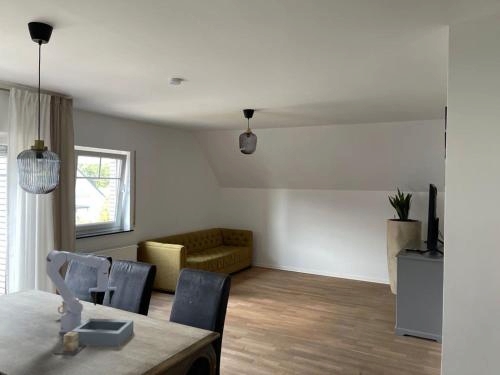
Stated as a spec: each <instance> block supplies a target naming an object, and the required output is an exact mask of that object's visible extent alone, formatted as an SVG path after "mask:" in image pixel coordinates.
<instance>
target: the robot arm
mask: <svg viewBox="0 0 500 375" xmlns="http://www.w3.org/2000/svg"><path fill="white" fill-rule="evenodd" d="M45 261H46V263H45V264H46V269H45V270H46V271H45V272H46V275H47V277H48V278H49V279H50V281H51V283H52V284H53V286H54V287H55V290H56V291H57V292H58V294H59V295H60V297H61V299H62V301H63V302H64V304H65V309H66V310H67V312H66V313H64V314H63V315H62V314H61V317H60V331H59V333H65V334H67V333H68V332H71V331H72V330H73V329H75V328H76V327H78V326H79V325H81V324H82V312H83V310H84V306H83V304H82V302H80V301H79V302H78V301H77V299H76V298H77V297H75V296H74V294H73V293H72V292H71V290H70V288H69V286H68V285H67V284H66V282H65V280H64V278H63V277H62V276H61V275H62V274H60V272H59V271H60V268H61V267H62V266H63V265H64V264H65V263H67V262H69V261H75V262H79V263H83V265H84V266H85V267H91V268H96V269H97V281H96V282H97V284H96V285H97V286H96V287H91V288H90V287H89V288H88V293H90V296H91V298H92V301H93V304H94V306H97V293H98V292H99V293H102V292H109V294H108V295H109V300H108V304H109V305H111V304H112V299H113V295H114V294H115V292H117V286H109V269H110V267H111V262H110V260H109V259H106V258H104V257H102V256H95V254H87V255H86V256H84V255H80V254H77V253H74V252H71V251H70V252H69V251H63V250H59V251H58V250H56V249H55V250H53V249H52V250H50V251H49V252H48V254H47V256H46V258H45Z"/></svg>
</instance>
